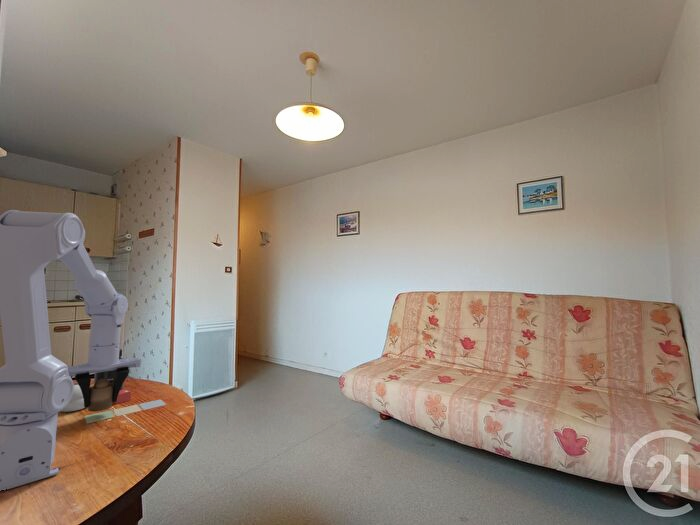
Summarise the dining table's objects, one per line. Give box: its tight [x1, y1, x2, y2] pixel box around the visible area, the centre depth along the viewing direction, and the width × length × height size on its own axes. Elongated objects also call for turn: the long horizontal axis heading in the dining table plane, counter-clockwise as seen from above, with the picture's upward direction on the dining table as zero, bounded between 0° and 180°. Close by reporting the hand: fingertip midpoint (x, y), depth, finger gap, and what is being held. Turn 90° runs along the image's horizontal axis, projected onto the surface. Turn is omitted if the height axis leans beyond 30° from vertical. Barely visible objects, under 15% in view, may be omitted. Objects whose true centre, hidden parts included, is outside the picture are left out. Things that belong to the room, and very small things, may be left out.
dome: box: [60, 384, 86, 413], centre depth 76 cm, size 6×6×6 cm
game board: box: [83, 398, 167, 424], centre depth 76 cm, size 11×16×1 cm
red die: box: [112, 388, 132, 405], centre depth 81 cm, size 3×3×3 cm
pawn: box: [87, 379, 114, 413], centre depth 72 cm, size 4×4×6 cm
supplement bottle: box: [93, 348, 124, 390], centre depth 89 cm, size 7×7×12 cm
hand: (100, 403), depth 72 cm, fingers closed on pawn, 4 cm apart
